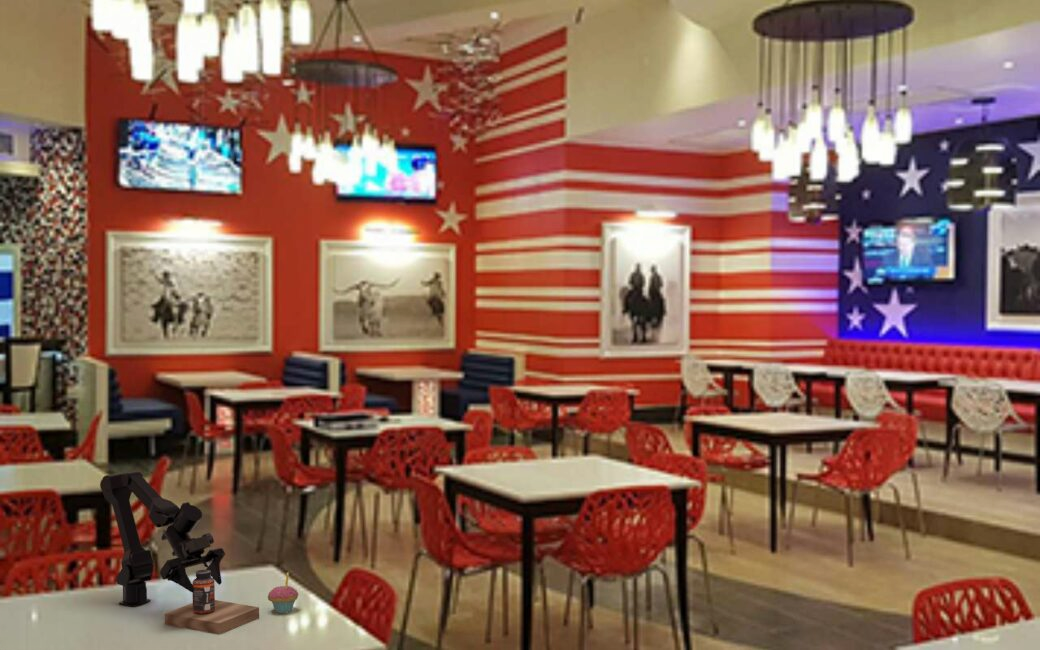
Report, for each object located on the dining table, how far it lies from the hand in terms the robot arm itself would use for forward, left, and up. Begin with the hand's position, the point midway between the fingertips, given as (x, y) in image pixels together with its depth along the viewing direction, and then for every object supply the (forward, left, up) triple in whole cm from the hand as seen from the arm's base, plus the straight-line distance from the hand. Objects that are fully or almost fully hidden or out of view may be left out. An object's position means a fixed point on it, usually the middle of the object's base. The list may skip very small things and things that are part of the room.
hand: (207, 587), depth 298 cm
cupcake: (+12, +18, -10) cm, 24 cm away
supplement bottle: (-2, 0, -7) cm, 7 cm away
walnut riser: (0, +2, -10) cm, 10 cm away
